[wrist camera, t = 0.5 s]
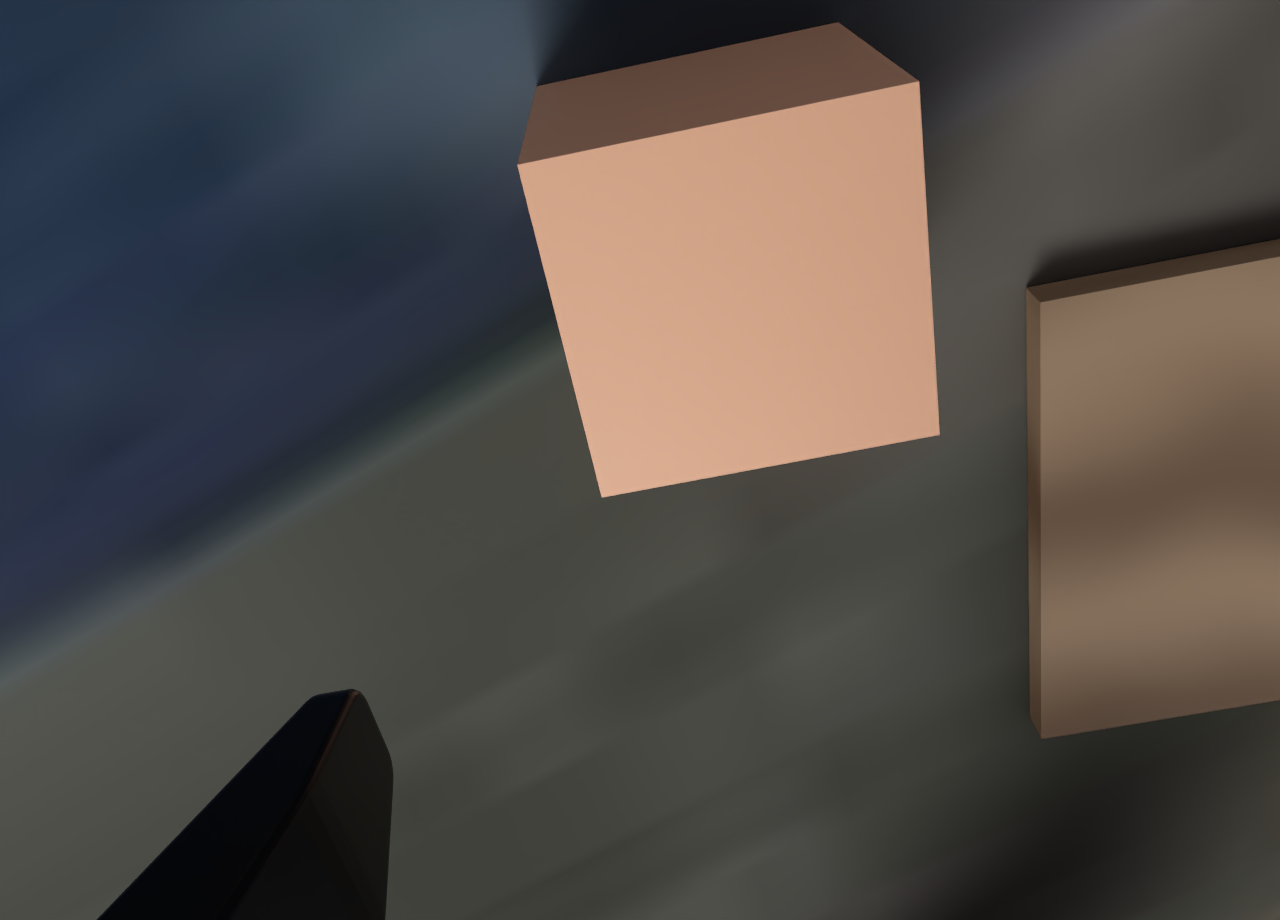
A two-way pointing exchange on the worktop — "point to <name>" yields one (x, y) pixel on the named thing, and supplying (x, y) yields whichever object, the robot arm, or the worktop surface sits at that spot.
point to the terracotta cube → (737, 255)
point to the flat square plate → (1154, 490)
